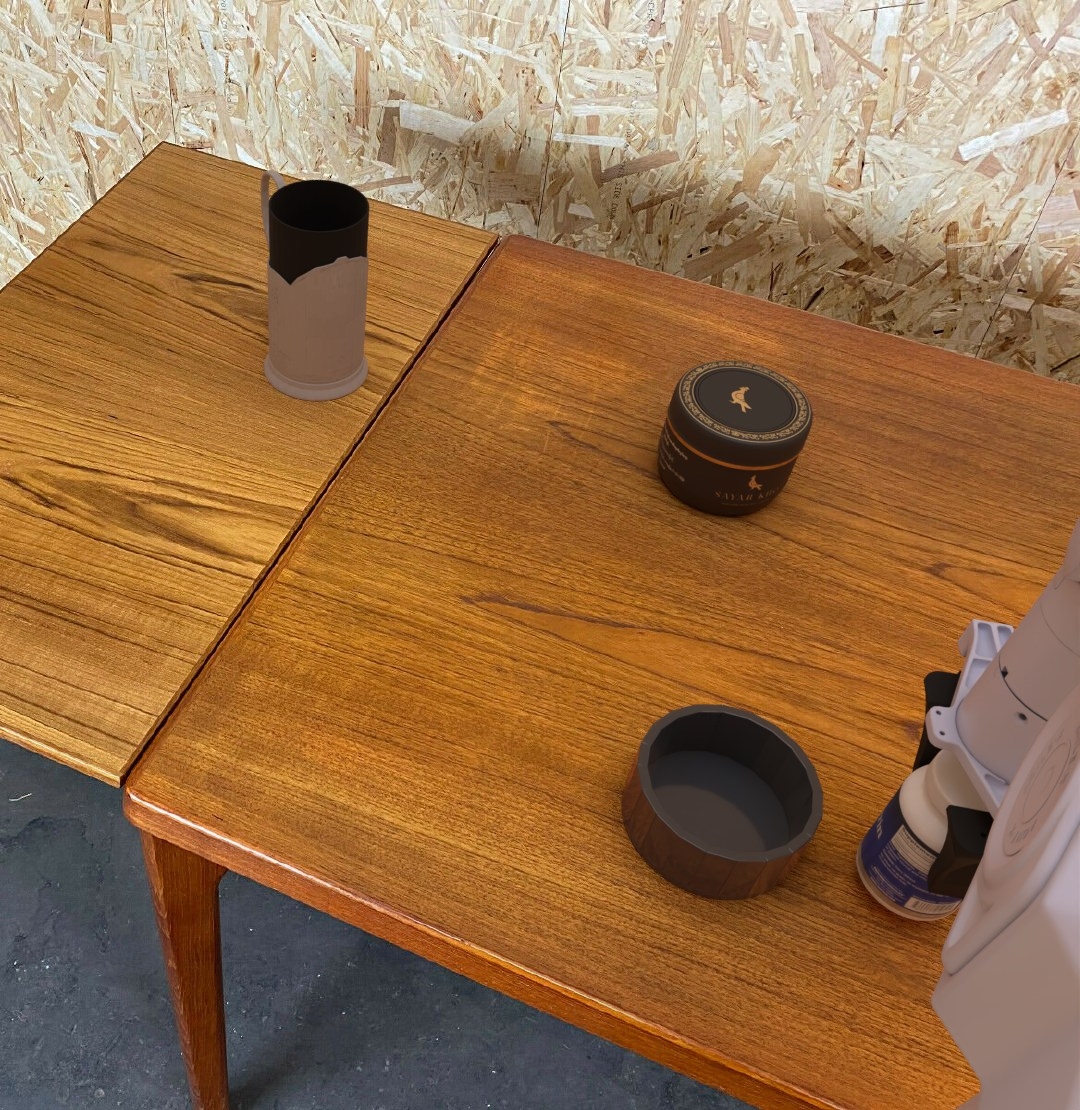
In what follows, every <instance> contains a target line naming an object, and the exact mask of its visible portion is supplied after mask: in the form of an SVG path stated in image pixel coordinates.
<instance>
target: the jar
mask: <svg viewBox="0 0 1080 1110" xmlns="http://www.w3.org/2000/svg"><path fill="white" fill-rule="evenodd" d="M813 418H814V412H813V408H812V404H811V402H810V400H809V398H808V397H807V395H806V393H804V392H803V390H802V389H801V388H800V387H799V386H798V385H797V384H796V383H795V382H793V381H792V380H791V379H790V378H787V377H786V376H785V375H783V374H781V373H779V372H778V371H775V370H773V369H771V368H768V367H766V366H763V365H760V364H756V363H753V362H749V361H741V360H733V359H732V360H731V359H729V360H727V359H725V360H722V359H721V360H713V361H707V362H704V363H701V364H698V365H696V366H693V367H691V368H690V369H688V370H687V371H686V372H685V373H684V374H683V375H682V376H681V377H680V379H679V380H678V381H677V383H676V385H675V388H674V390H673V393H672V395H671V397H670V399H669V401H668V403H667V407H666V416H665V420H664V423H663V425H662V430H661V431H660V432H661V433H660V435H659V440H658V443H657V453H656V454H657V468H658V473H659V476H660V478H661V479H662V481H663V482H664V484H665V485H666V487H667V488H668V490H669V491H670V492H671V493H672V494H673V495H674V496H675V497H676V498H678V499H679V500H680V501H682V502H683V503H685V504H687V505H688V506H690V507H693V508H694V509H697V510H700V511H701V512H705V513H708V514H713V515H718V516H743V515H747V514H750V513H754V512H757V511H759V510H761V509H763V508H765V507H767V506H769V504H770V503H771V502H773V500H775V498H777V496H779V494H780V493H781V492H782V491H783V490H784V488H785V487H786V485H787V483H788V481H789V479H790V477H791V474H792V472H793V470H794V467H795V465H796V463H797V460H798V458H799V456H800V454H801V453H802V452H803V450H804V448H805V446H806V443H807V440H808V437H809V434H810V432H811V429H812V426H813V421H814V419H813Z"/></svg>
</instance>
